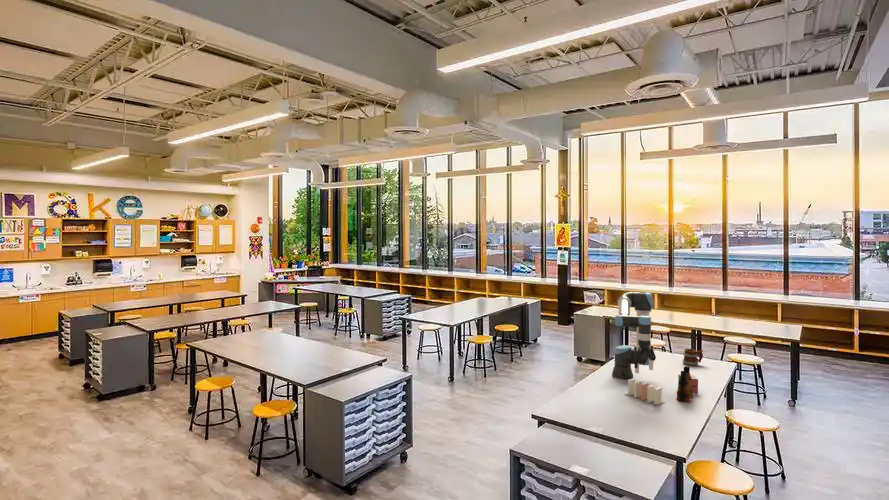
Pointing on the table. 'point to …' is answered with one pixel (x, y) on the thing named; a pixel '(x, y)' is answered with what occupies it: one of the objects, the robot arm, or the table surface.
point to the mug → (692, 357)
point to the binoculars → (685, 386)
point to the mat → (643, 400)
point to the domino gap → (644, 391)
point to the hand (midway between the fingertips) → (644, 371)
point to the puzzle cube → (693, 383)
